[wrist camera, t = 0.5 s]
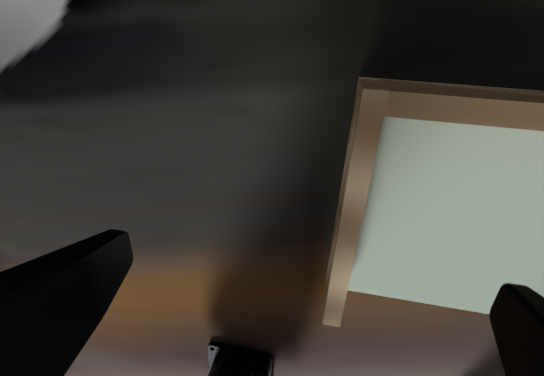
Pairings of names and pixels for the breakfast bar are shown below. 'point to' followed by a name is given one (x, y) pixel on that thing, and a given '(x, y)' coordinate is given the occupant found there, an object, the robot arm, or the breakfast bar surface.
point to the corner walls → (364, 142)
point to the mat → (452, 214)
